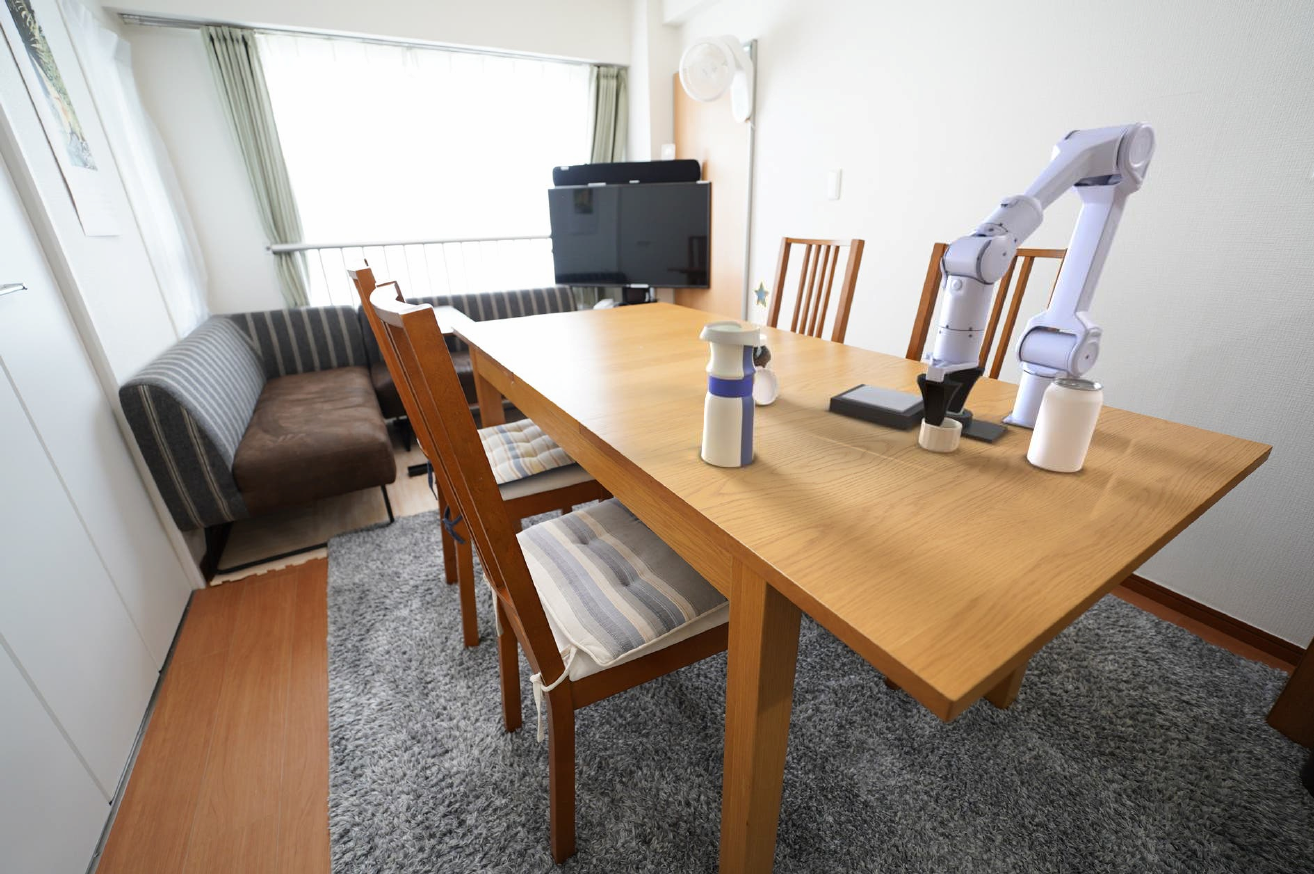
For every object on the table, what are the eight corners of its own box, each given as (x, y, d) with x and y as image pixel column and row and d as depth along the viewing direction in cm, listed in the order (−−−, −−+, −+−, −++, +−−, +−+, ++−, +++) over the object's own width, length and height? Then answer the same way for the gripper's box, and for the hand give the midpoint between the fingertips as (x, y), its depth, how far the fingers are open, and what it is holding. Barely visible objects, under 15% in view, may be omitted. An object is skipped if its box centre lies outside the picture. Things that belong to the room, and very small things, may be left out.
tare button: (965, 412, 91) (967, 403, 90) (958, 417, 89) (960, 407, 88) (946, 408, 93) (948, 399, 92) (939, 413, 91) (941, 403, 90)
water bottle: (721, 440, 87) (728, 277, 77) (766, 455, 81) (779, 282, 71) (687, 455, 81) (689, 283, 72) (732, 472, 76) (741, 288, 66)
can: (1064, 478, 73) (1090, 393, 69) (1016, 460, 78) (1037, 380, 74) (1090, 468, 76) (1117, 386, 71) (1042, 451, 81) (1064, 374, 77)
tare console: (1006, 430, 89) (1010, 416, 88) (991, 444, 84) (994, 429, 83) (940, 415, 96) (943, 401, 95) (922, 426, 91) (925, 412, 90)
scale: (934, 413, 97) (937, 397, 96) (906, 431, 89) (909, 414, 88) (860, 396, 106) (862, 381, 105) (828, 411, 98) (830, 395, 97)
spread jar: (740, 384, 114) (742, 329, 110) (791, 394, 108) (796, 336, 103) (711, 400, 105) (712, 340, 101) (764, 411, 99) (769, 348, 94)
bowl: (962, 446, 83) (967, 422, 82) (949, 457, 80) (954, 432, 78) (925, 437, 87) (930, 413, 85) (911, 447, 83) (916, 422, 82)
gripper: (950, 317, 84) (933, 400, 89) (911, 330, 74) (895, 423, 79) (1001, 322, 79) (981, 410, 84) (966, 338, 70) (946, 436, 75)
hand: (942, 417), depth 81 cm, fingers open, 7 cm apart
